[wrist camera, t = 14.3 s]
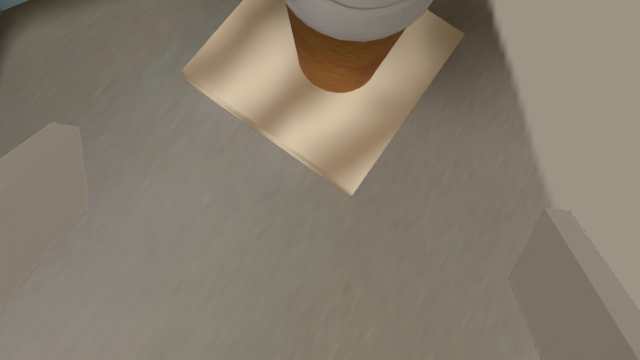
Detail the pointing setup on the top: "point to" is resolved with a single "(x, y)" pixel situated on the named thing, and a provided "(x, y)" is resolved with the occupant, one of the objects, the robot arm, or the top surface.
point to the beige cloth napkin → (316, 89)
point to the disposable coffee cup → (348, 37)
